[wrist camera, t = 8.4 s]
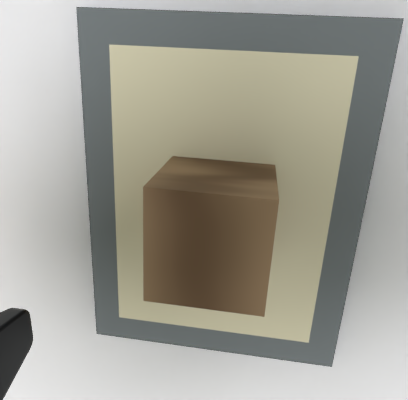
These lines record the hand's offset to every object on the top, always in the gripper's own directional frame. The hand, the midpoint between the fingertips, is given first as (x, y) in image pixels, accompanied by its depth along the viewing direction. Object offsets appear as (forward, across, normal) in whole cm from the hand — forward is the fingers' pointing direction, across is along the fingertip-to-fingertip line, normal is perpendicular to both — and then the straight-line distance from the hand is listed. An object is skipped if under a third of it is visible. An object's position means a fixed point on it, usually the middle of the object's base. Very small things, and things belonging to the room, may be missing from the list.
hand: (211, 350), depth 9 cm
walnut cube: (+11, +1, +1) cm, 11 cm away
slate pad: (+12, +1, +1) cm, 12 cm away
